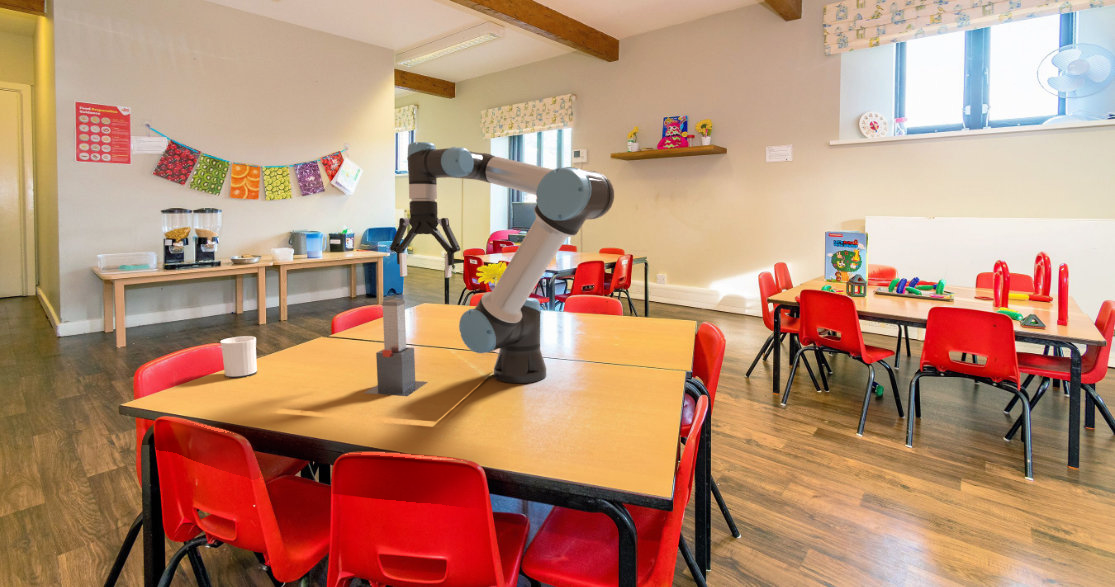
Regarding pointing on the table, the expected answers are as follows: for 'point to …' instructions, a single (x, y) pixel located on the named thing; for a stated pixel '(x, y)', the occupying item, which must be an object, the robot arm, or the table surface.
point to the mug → (239, 356)
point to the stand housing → (396, 373)
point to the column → (394, 325)
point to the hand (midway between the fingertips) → (425, 276)
